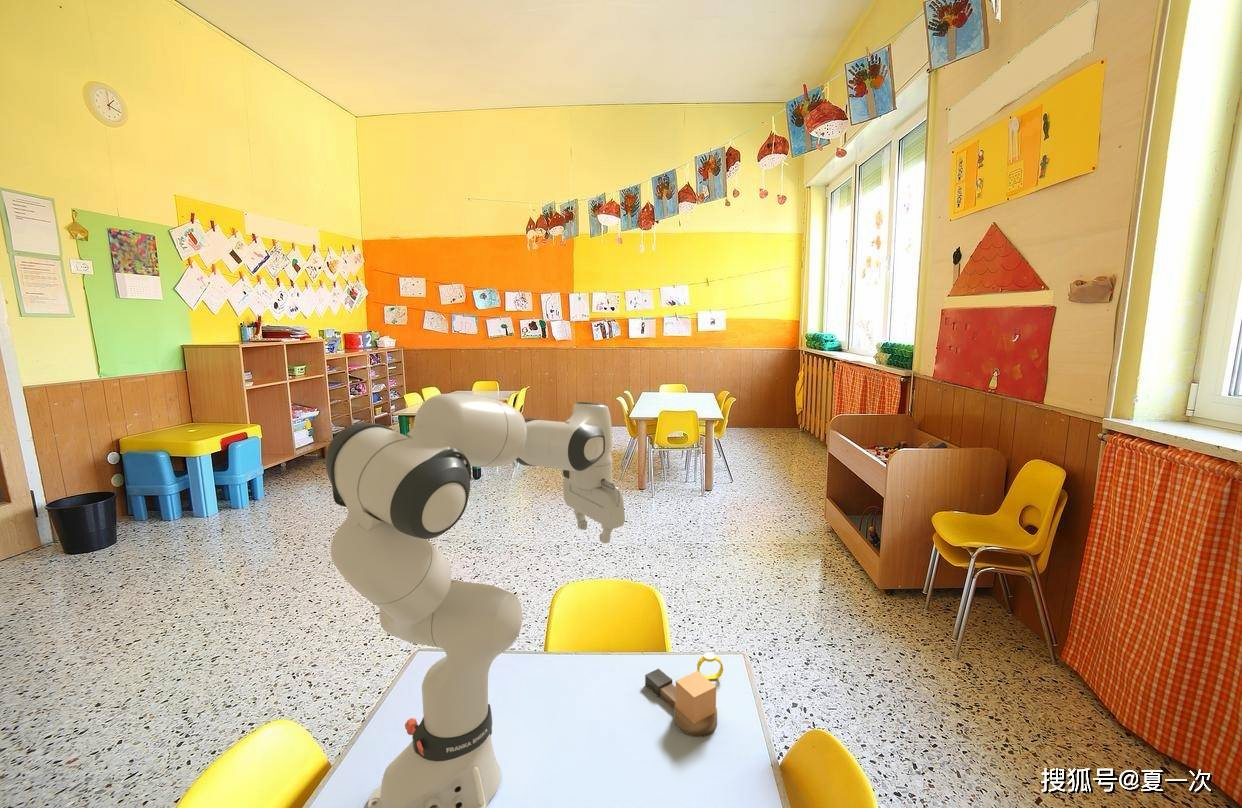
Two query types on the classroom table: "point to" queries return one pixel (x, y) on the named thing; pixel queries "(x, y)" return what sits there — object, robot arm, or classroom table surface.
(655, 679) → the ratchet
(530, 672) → the classroom table surface
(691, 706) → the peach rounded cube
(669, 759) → the classroom table surface
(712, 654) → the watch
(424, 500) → the robot arm
